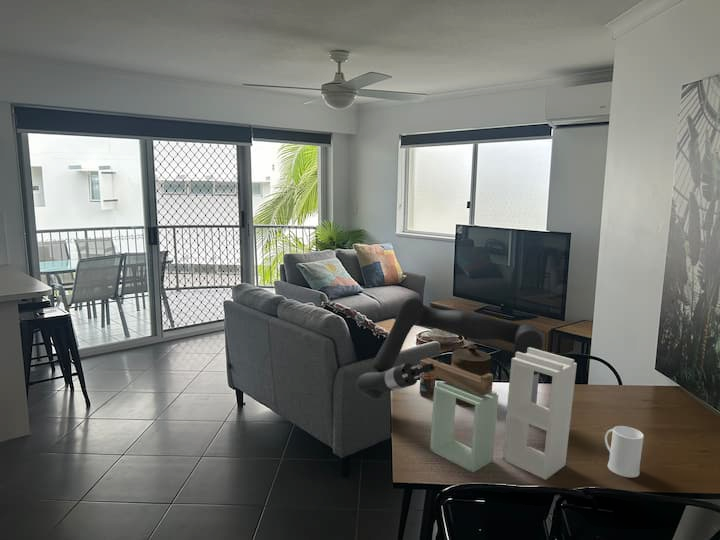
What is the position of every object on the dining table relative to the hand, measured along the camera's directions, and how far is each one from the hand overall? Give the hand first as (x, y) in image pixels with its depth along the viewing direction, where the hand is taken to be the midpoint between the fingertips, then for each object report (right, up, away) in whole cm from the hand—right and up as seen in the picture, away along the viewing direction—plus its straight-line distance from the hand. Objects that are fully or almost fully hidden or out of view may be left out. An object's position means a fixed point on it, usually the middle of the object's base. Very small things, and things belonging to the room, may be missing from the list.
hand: (437, 364), depth 162 cm
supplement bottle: (+2, -19, +42) cm, 46 cm away
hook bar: (+4, -4, -4) cm, 7 cm away
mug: (+53, -30, -6) cm, 61 cm away
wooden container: (+17, -21, +38) cm, 47 cm away
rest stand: (+7, -27, -4) cm, 28 cm away
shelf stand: (+28, -28, -6) cm, 40 cm away
